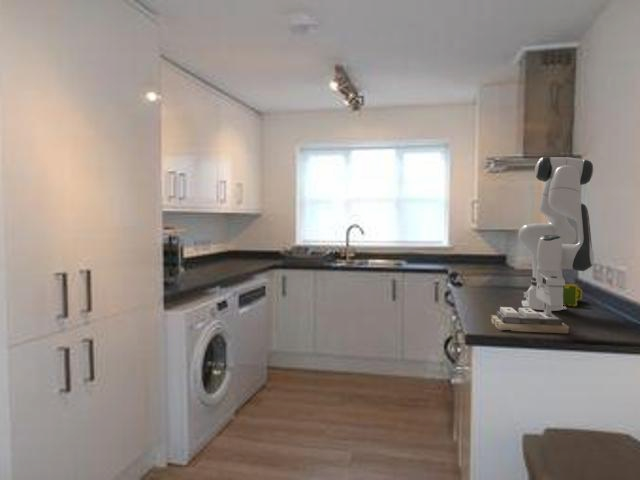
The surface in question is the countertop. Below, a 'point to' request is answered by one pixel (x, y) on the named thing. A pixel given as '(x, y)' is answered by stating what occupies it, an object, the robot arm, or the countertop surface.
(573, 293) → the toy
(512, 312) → the key one
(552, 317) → the key three
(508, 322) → the key panel
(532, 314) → the key two
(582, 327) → the countertop surface
